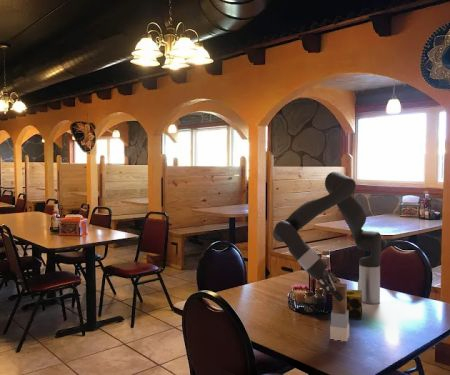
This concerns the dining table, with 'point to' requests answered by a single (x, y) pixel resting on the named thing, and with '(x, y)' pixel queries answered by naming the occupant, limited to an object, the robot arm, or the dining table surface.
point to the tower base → (339, 333)
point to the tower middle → (340, 319)
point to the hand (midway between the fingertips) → (343, 296)
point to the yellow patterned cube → (354, 304)
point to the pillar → (342, 305)
